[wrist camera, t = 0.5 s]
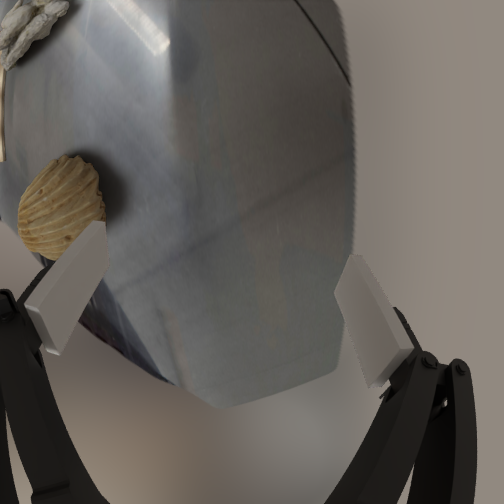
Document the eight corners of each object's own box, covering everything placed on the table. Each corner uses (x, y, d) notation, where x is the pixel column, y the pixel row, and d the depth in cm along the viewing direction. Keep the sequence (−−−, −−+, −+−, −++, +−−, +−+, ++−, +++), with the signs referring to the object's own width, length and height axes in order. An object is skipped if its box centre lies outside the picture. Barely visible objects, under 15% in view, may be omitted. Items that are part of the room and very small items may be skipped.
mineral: (87, 8, 21) (48, -21, 11) (15, 89, 24) (-27, 75, 14) (79, -11, 21) (48, -35, 11) (16, 56, 24) (-18, 42, 15)
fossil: (37, 157, 34) (-20, 188, 21) (117, 143, 35) (62, 170, 22) (53, 233, 42) (10, 279, 29) (129, 232, 43) (92, 287, 30)
